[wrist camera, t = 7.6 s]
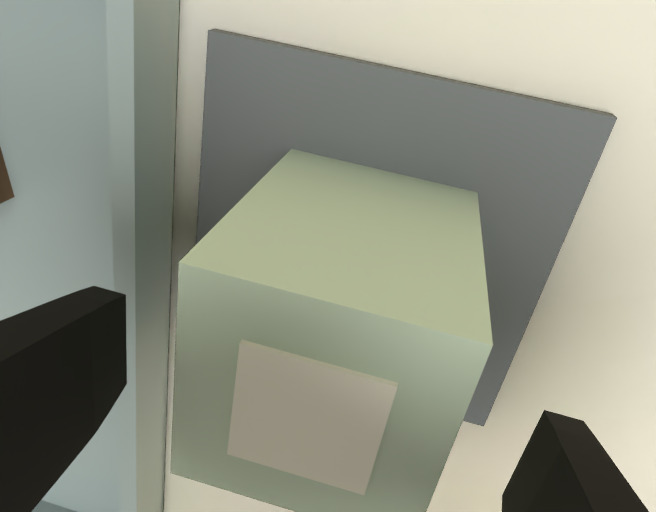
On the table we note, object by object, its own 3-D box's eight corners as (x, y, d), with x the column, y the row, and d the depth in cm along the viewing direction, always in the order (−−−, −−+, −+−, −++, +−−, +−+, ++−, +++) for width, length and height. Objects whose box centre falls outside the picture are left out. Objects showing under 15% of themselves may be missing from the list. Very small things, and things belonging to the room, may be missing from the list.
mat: (483, 416, 16) (483, 426, 15) (196, 336, 17) (190, 344, 16) (612, 113, 11) (617, 117, 11) (215, 28, 12) (208, 30, 12)
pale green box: (427, 344, 15) (410, 552, 9) (270, 302, 15) (168, 477, 10) (477, 192, 12) (493, 349, 7) (291, 148, 13) (175, 265, 8)
